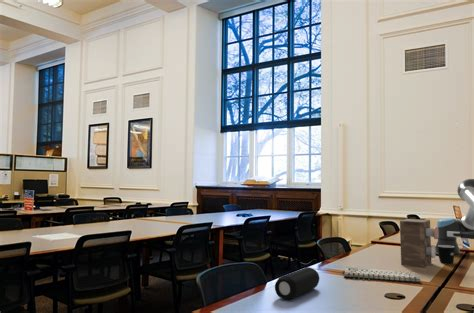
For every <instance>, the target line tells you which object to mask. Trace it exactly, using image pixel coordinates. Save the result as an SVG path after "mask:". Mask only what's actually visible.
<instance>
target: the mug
mask: <svg viewBox="0 0 474 313" xmlns="http://www.w3.org/2000/svg"><path fill="white" fill-rule="evenodd" d="M454 252H455V248H454V246H449V245H438V253H437V254H438V259H439V262H440V263H441V264H443V265H444V264H445V265H453V263H454V260H455V254H454Z"/></svg>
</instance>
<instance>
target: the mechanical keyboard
mask: <svg viewBox="0 0 474 313" xmlns="http://www.w3.org/2000/svg"><path fill="white" fill-rule="evenodd" d="M342 275H343V279H345V280H350V281H353V280H354V281H367V282H382V283H383V282H386V283H389V282H392V283H407V284H421V283H422V281H421V278H420V276H418V273H417V272H413V271H412V272H409V271H403V272H401V271H397V270H396V271H394V270H385V269H373V268H371V269H367V268H358V267H350V266H346V267H345V269H344V270H343V271H342ZM420 282H421V283H420Z"/></svg>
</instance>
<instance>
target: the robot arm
mask: <svg viewBox="0 0 474 313" xmlns="http://www.w3.org/2000/svg"><path fill="white" fill-rule="evenodd" d="M456 191H457V195H458V196H459V198H460V199H461V200H462V201H465V202H466V204H468V206H469V208H468V210H467V213H466V215H464V216H463V217H462V218H461V220H459V219H458V220H457V219H456V218H454V217H449V218H448V217H447V218H445V217H444V218H440V219H437V221H436V227H438V231H439V236H438V239H437V243H436V245H435V248H436V254H438V245H449V246H454V248H455V252H454V255H459V254H461V249H460V247H459V244H458V241H457V238H460V239H469V240H474V178H469V179H468V178H467V179H465V180H463V181H461V182H460V183H459V185H458V187H457V190H456Z"/></svg>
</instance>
